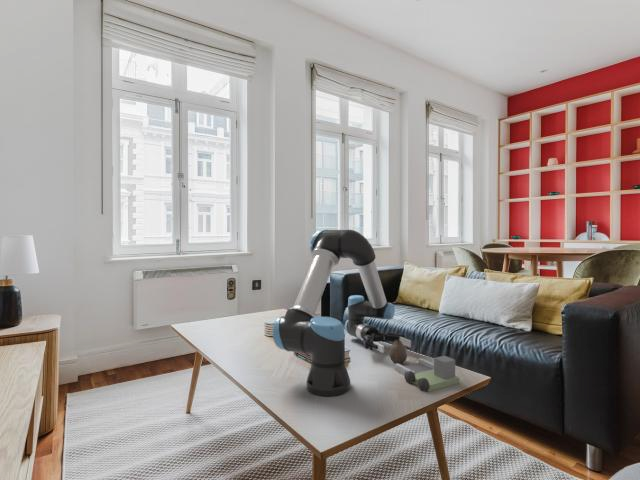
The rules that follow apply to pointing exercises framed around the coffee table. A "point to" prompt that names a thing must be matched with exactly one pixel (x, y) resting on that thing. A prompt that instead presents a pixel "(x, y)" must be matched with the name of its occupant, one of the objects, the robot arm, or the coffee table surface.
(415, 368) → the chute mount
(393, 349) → the vase
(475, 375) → the coffee table surface
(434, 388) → the toy truck
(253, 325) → the coffee table surface
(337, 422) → the coffee table surface
